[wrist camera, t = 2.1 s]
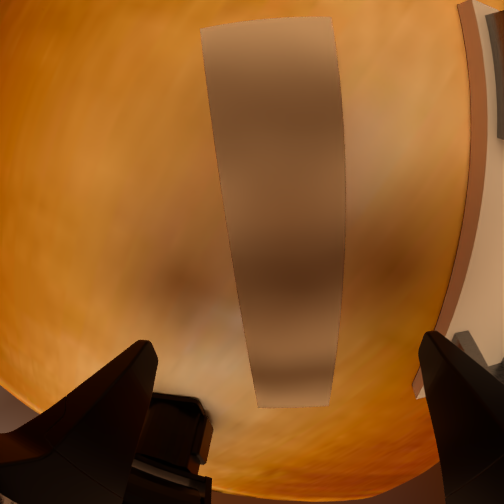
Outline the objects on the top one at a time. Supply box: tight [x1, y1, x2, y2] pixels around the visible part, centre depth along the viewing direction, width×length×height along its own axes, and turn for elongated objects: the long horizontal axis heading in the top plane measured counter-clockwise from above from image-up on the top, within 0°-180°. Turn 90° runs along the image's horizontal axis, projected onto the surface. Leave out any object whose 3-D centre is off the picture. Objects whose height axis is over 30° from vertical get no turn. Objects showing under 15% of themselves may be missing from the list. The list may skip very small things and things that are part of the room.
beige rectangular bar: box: [200, 17, 346, 408], centre depth 14 cm, size 20×4×4 cm, turn 6°
